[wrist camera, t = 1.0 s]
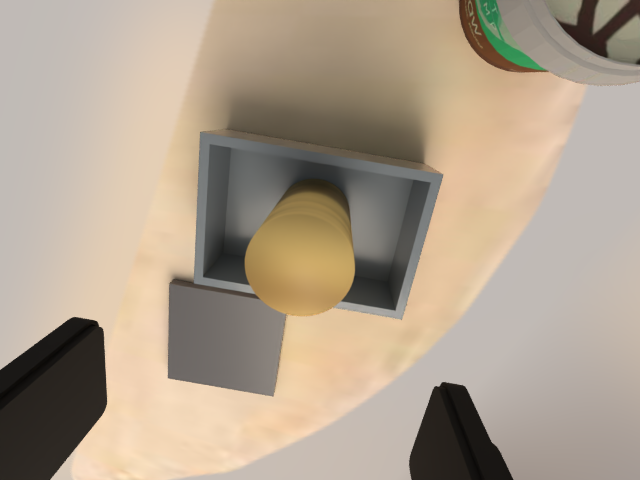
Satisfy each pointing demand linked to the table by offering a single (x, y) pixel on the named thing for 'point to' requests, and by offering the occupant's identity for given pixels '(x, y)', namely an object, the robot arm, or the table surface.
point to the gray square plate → (223, 338)
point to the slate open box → (313, 163)
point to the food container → (558, 37)
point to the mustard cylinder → (303, 251)
